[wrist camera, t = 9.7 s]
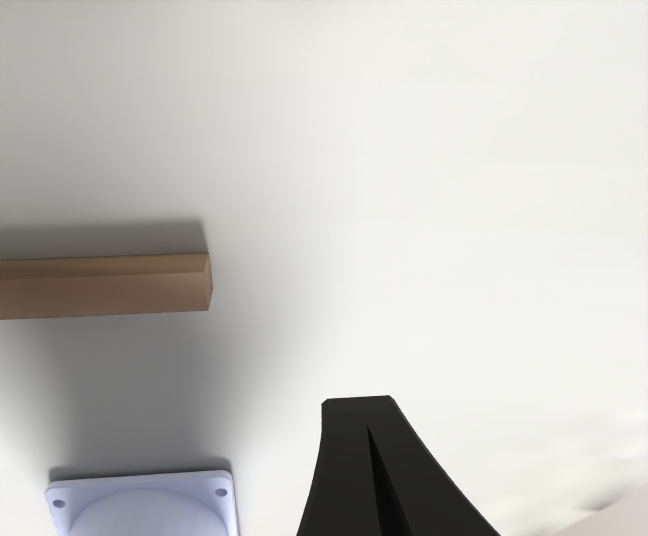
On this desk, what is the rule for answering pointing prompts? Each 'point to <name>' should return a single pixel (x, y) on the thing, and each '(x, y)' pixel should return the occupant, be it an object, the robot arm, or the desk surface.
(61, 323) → the desk surface
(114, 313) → the level stand
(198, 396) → the desk surface
